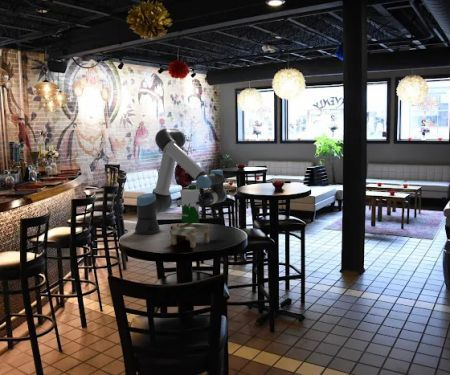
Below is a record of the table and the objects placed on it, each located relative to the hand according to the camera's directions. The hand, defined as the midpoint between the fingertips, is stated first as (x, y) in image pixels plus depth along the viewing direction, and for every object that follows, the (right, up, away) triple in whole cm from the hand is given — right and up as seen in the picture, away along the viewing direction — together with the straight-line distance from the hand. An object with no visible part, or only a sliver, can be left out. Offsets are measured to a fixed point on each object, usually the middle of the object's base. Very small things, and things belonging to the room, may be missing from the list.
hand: (184, 203), depth 247 cm
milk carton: (+3, -11, +5) cm, 12 cm away
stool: (+3, -22, +7) cm, 23 cm away
